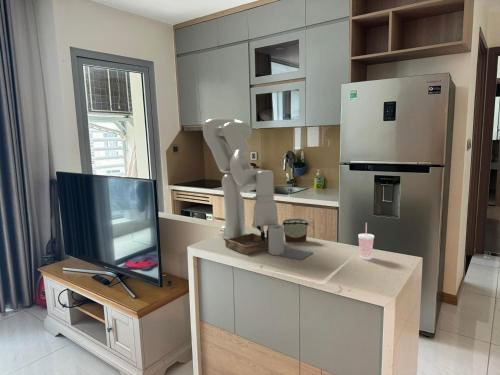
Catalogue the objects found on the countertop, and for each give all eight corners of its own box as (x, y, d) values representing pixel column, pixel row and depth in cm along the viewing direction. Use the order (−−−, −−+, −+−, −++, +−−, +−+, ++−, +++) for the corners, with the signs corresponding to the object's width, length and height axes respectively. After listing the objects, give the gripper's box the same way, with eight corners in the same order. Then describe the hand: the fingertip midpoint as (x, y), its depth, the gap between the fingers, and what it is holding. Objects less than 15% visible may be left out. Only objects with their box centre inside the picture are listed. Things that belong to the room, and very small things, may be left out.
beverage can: (273, 257, 145) (272, 228, 143) (265, 252, 151) (265, 225, 149) (286, 255, 148) (286, 226, 146) (279, 250, 153) (279, 223, 152)
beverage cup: (362, 254, 145) (362, 220, 143) (376, 257, 141) (377, 222, 139) (354, 257, 141) (355, 223, 139) (369, 261, 137) (369, 225, 135)
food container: (308, 238, 169) (308, 218, 168) (309, 242, 163) (309, 221, 162) (282, 238, 170) (282, 218, 169) (282, 242, 164) (281, 221, 163)
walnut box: (225, 246, 160) (225, 239, 159) (252, 240, 169) (252, 233, 169) (246, 255, 147) (246, 246, 147) (274, 247, 157) (274, 239, 156)
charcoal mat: (279, 255, 145) (279, 254, 145) (291, 249, 153) (291, 248, 153) (301, 260, 140) (301, 259, 140) (312, 253, 148) (312, 252, 148)
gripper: (248, 201, 148) (249, 244, 151) (284, 199, 151) (285, 241, 153) (245, 198, 156) (246, 239, 158) (280, 196, 158) (280, 236, 161)
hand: (265, 240), depth 156 cm, fingers closed
